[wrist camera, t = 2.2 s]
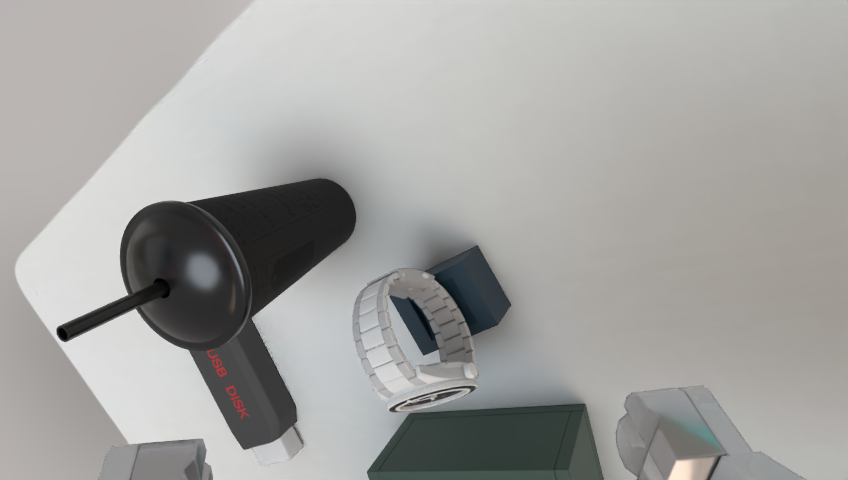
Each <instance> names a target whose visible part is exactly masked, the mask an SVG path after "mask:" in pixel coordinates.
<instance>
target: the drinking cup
mask: <svg viewBox="0 0 848 480" xmlns="http://www.w3.org/2000/svg"><path fill="white" fill-rule="evenodd" d="M355 221H356V216H355V209H354V205H353V203H352V200H351V198H350V197H349V195H348V194H347V192H346V191H345V190H344V189H343V188H342V187H341V186H339V185H338V184H336V183H335V182H333V181H330V180H327V179H312V180H307V181H301V182H296V183H290V184H285V185H279V186H274V187H268V188H263V189H257V190H252V191H246V192H241V193H235V194H230V195H224V196H219V197H214V198H208V199H203V200H197V201H192V202H186V203H185V202H180V201H162V202H158V203H154V204H151V205H149V206H147V207H145V208H143V209H142V210H140V211H139V212H138V213H137V214H136V215H135V216H134V217H133V218H132V219H131V220H130V222H129V223H128V225H127V227H126V229H125V231H124V234H123V237H122V242H121V248H120V265H121V272H122V277H123V281H124V284H125V287H126V290H127V292H128V295H127V296H125V297H123V298H121V299H119V300H116V301H114V302H112V303H110V304H107V305H105V306H103V307H101V308H98V309H96V310H94V311H92V312H90V313H87V314H85V315H83V316H81V317H78V318H76V319H74V320H72V321H69V322H67V323H65V324H63V325H61V326H58V327H57V335H58V337H59V338H60V339H61V340H62V341H64V342H67V341H69V340H71V339H73V338H75V337H78V336H80V335H82V334H84V333H86V332H88V331H90V330H92V329H94V328H96V327H98V326H100V325H103V324H105V323H107V322H109V321H111V320H113V319H115V318H117V317H119V316H121V315H123V314H126V313H128V312H130V311H132V310H134V309H136V310H137V311H138V313H139V314H140V316H141V317H142V318H143V319H144V321H145V322H146V323H147V324H148V325H149V326H150V327H151V328H152V329H153V330H154V331H155V332H156V333H157V334H158V335H160V336H161V337H162V338H164V339H165V340H167V341H168V342H170V343H172V344H174V345H176V346H178V347H181V348H184V349H187V350H192V351H209V350H214V349H217V348H220V347H221V346H223V345H225V344H227V343H228V342H230V341H231V340H232V339H234V338H235V337H236V336H237V335H238V334H239V332H240V331H241V330H242V328H243V327H244V325H245V323H246V322H247V321H248V320H249V319H250V318H252V317H253V316H254V315H255V314H257V313H258V312H259V311H260V310H261V309H263V308H264V307H265V306H266V305H268V304H269V303H270V302H271V301H273V300H274V299H275V298H276V297H278V296H279V295H280V294H281V293H282V292H284V291H285V290H286V289H287V288H289V287H290V286H291V285H292V284H294V283H295V282H296V281H297V280H299V279H300V278H301V277H302V276H304V275H305V274H306V273H307V272H308V271H310V270H311V269H312V268H313V267H315V266H316V265H317V264H318V263H320V262H321V261H322V260H323V259H325V258H326V257H327V256H328V255H330V254H331V253H332V252H333V251H334V250H336V249H337V248H338V247H339V246H341V245H342V244H343V243H344V242H346V241H347V240H348V239H349V237H350V236H351V234H352V232H353V230H354V227H355Z"/></svg>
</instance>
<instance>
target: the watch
mask: <svg viewBox="0 0 848 480" xmlns="http://www.w3.org/2000/svg"><path fill="white" fill-rule="evenodd" d="M388 295H390V296H389V297H390V298H391V300H392V302H393V304H394V305H395V307H396V309H397V311H398V312H399V314H400V316H401V317H402V319H403V321H404V323H405V324H406V326H407V328H408V330H409V331H410V333H411V335H412V337H413V338H414V340H415V342H416V343H417V345H418V347H419V349H420V350H421V352H422V354H423V356H424V355H426V354H429V353H431V352H434V351H436V350H438V349H439V353H440V361H441V363H435V364H430V365H418V366H415V369H413V367H412V366H411V365H410V363H409V362H408V361H407V360H406V361H405V359H406V358H405V355H404V354H403V352H402V350H401V348H400V347H399V345H397V340H396V337H395V335H394V332H393V329H392V328H390V327H391V321H390V316H389V313H388V311H387V310H388V301H387V297H386V296H388ZM510 305H511V304H510V302H509V301H508V299H507V297H506V295H505V294H504V292H503V290H502V288H501V286H500V285H499V283H498V281H497V279H496V278H495V276H494V274H493V272H492V270H491V269H490V267H489V265H488V263H487V262H486V260H485V258H484V256H483V254H482V253H481V251H480V249H479V247H478V246H475V247H473V248H471V249H469V250H467V251H465V252H463V253H461V254H459V255H457V256H455V257H453V258H451V259H449V260H447V261H445V262H443V263H441V264H439V265H437V266H435V267H433V268H431V269H429V270H427V271H425V272H424V271H421V270H417V269H411V268H401V269H396V270H393V271H391V272H389V273H387V274H385V275H383V276H381V277H379V278H377V279H375V280H373V281H371V282H370V283H368V284H367V287H365V288H364V289H363V290H362V291H361V292H360V293H359V295H358V297H357V299H356V302H355V305H354V311H353V324H354V325H353V336H354V341H355V342H356V343H355V345H356V349H357V353H358V356H359V359H362V360H361V363H362V366H363V368H364V370H365V372H366V374H367V375H368V376H369V379H370V380H371V382H372V387H373V391H374V392H375V394H376V395H377V396H378V397H379V398H380V399H382V400H383V401H384V402H386V403H387V405H386V407H387V411H390V412H404V411H411V410H417V409H422V408H427V407H431V406H435V405H438V404H442V403H445V402H448V401H451V400H454V399H457V398H459V397H462V396H464V395H466V394H469V393H470V392H472V391H474V390H475V389H476V388H477V387H478V385H477V382H476V381H475V380H476V379H477V378H478V375H479V374H478V370H477V368H476V366H475V365H476V358H475V352H474V351H475V349H474V345H473V341H472V338H471V337H470V336H472V335H475V334H477V333H480V332H482V331H484V330H487V329H489V328H492V327H494V326H496V325H498V324H499V323H500V321H501V319H502V318H503V316H504V315H505V313H506V312H507V310H508V309H509V307H510ZM383 343H385V344H383ZM381 344H382V345H381ZM395 344H396V345H395ZM379 345H380V346H379ZM393 345H394V346H393ZM376 346H378V347H376ZM391 346H392V347H391ZM374 347H376V348H374ZM372 348H373V349H372ZM370 349H371V350H370ZM368 350H369V351H368ZM365 357H367V358H365ZM363 358H364V359H363Z"/></svg>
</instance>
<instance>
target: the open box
mask: <svg viewBox="0 0 848 480" xmlns="http://www.w3.org/2000/svg"><path fill="white" fill-rule="evenodd" d="M367 474H368V477H369V480H604V479H603V475H602V471H601V467H600V463H599V459H598V455H597V450H596V446H595V442H594V438H593V434H592V430H591V426H590V422H589V417H588V413H587V409H586V405H585V404H580V405H561V406H543V407H524V408H506V409H487V410H469V411H450V412H432V413H413V414H409V415H408V416H407V418H406V419H405V421H404V422H403V423H402V425H401V426H400V427H399V429H398V430H397V431H396V433H395V434H394V436H393V437H392V438H391V440H390V441H389V442H388V444H387V445H386V446H385V448H384V449H383V451H382V452H381V453H380V455H379V456H378V457H377V459H376V460H375V461H374V463H373V464H372V466H371V467H370V468H369V470H368V471H367Z"/></svg>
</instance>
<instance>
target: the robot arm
mask: <svg viewBox="0 0 848 480" xmlns="http://www.w3.org/2000/svg"><path fill="white" fill-rule="evenodd" d="M624 407H625V409H626V411H627V414H626V415H625V416H624V417H623V418H621V419H620V420H619V422H618V426H617V430H616V442H617V448H618V451H619V455H620V458H621V460H622V462H623V464H624V466H625V468H626V469H628V470H629V471H630V472H632V473H633V474H634V475H636V476H637V477H638V478H637V480H806V479H804V478H802V477H801V476H799V475H798V474H796V473H794V472H793V471H791V470H789V469H788V468H786V467H785V466H783V465H781V464H780V463H778V462H777V461H775V460H773V459H772V458H770V457H769V456H767V455H765V454H764V453H762V452H761V451H760V452H753V451H752V449H751V448H750V446H749V445H748V444H747V442H746V441H745V439H744V438H743V437H742V435H741V434H740V432H739V431H738V430H737V428H736V427H735V425H734V424H733V423H732V421H731V420H730V419H729V417H728V416H727V414H726V413H725V412H724V410H723V409H722V407H721V406H720V405H719V403H718V402H717V400H716V399H715V398H714V396H713V395H712V393H711V392H710V391H709V390H708V389H707V388H706V387H704V386H703V385H702V386H692V387H682V388H668V389H660V390H651V391H643V392H635V393H631V394H630V395H628V396H627V398H626V401H625V404H624ZM205 457H206V447H205V444H204V441H203V439H191V440H178V441H165V442H153V443H141V444H130V445H119V446H112V447H111V448H110V450H109V452H108V453H107V454H106V457H105V460H104V463H103V466H102V469H101V472H100V476H99V479H98V480H213V475H212V470H211V466H210V465H208V464H207V463H205Z"/></svg>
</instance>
